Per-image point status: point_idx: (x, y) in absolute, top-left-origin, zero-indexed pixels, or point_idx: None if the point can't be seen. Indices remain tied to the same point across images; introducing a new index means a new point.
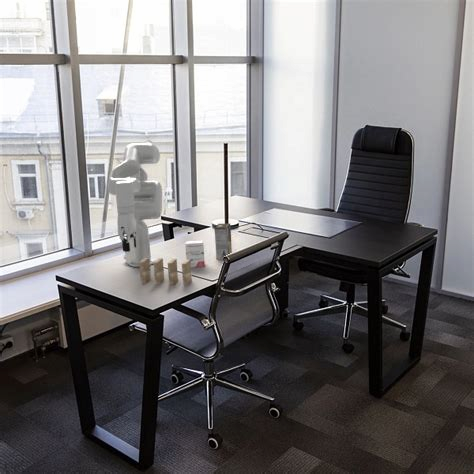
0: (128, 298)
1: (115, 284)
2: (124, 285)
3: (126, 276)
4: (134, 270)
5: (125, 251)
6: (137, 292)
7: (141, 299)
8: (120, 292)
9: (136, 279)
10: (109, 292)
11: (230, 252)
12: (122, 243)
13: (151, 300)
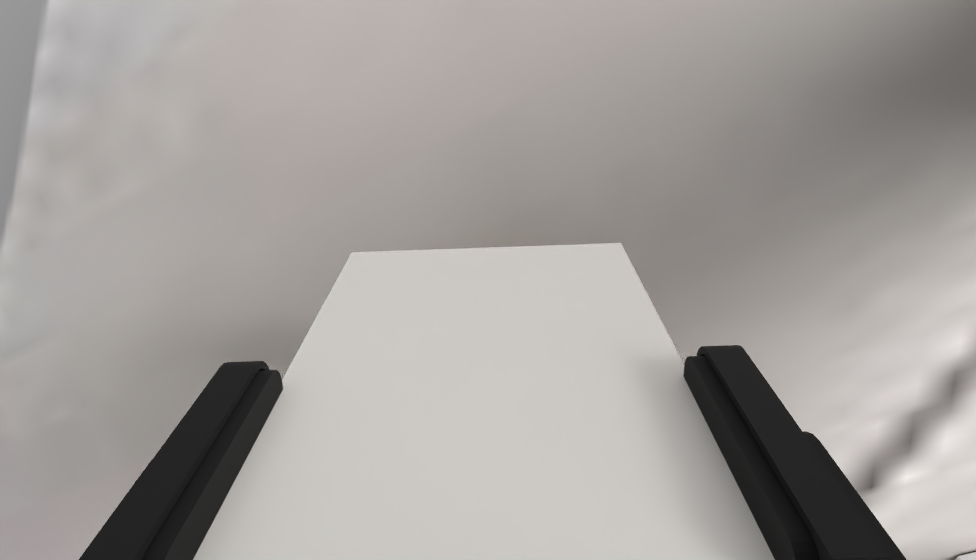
0: (5, 364)
1: (319, 10)
2: (319, 152)
3: (647, 11)
4: (913, 7)
5: (287, 395)
6: (177, 380)
7: (42, 477)
8: (105, 212)
9: (547, 203)
10: (48, 79)
11: None
12: (90, 557)
13: (63, 553)
